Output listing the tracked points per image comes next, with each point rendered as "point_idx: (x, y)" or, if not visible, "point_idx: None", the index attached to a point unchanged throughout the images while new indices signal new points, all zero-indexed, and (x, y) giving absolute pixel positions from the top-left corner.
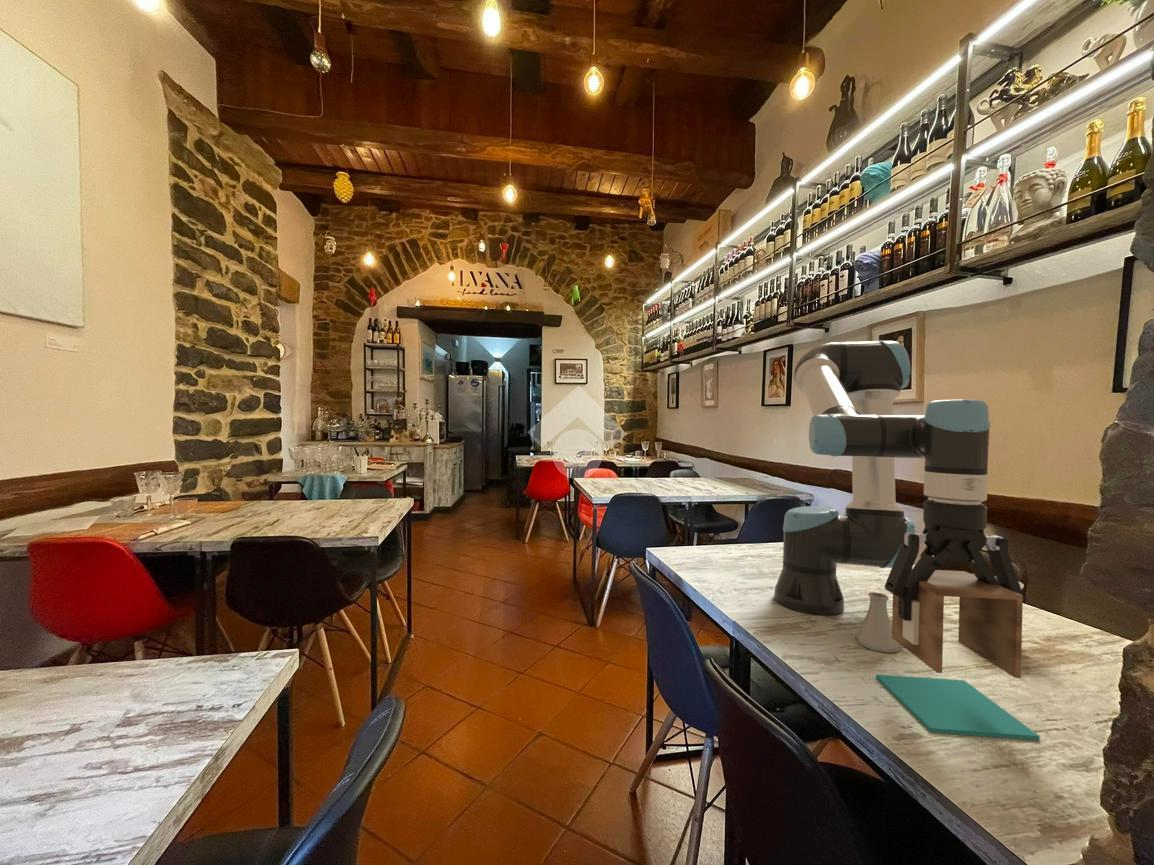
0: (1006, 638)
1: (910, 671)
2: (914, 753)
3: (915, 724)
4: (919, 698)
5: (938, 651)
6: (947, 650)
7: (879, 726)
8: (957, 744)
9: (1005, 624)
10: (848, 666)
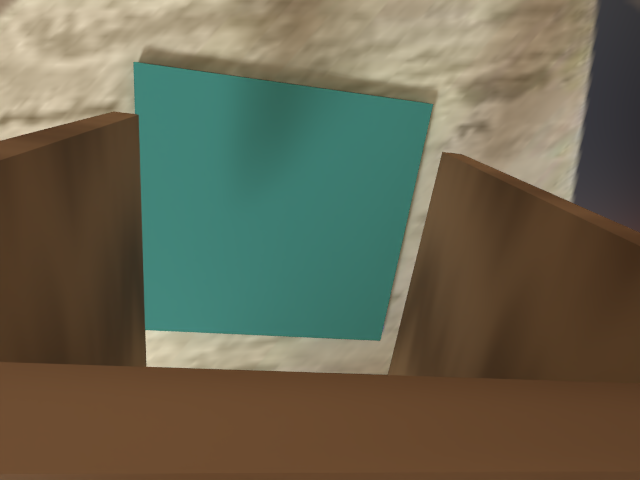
0: (69, 221)
1: None
2: (547, 13)
3: (439, 138)
4: (350, 237)
5: (505, 175)
6: None
7: (541, 129)
8: (399, 49)
9: (16, 274)
10: None
